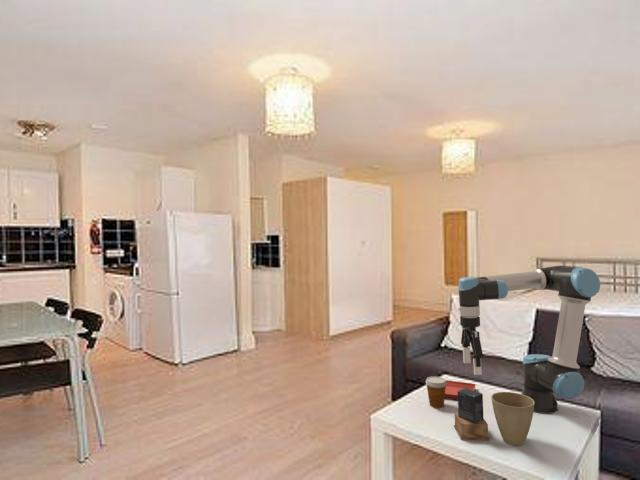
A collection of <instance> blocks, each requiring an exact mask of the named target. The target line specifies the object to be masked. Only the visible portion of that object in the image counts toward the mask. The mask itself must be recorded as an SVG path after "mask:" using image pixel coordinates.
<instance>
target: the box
mask: <svg viewBox="0 0 640 480" xmlns="http://www.w3.org/2000/svg"><path fill="white" fill-rule="evenodd" d="M483 398H484V394H483V392H480V391H476V390H475V391H474V390H471V389H468V388H465V389H462V390H459V391H458V400H457V405H458V406H457V409H458V410H457V411H458V412H457V413H458V416H459V417H461V418H463V419H465V420H468V421H470V422H473V423H477V422H480V421H482V420H483V418H484V402H483V401H484V399H483Z"/></svg>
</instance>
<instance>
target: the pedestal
mask: <svg viewBox="0 0 640 480" xmlns="http://www.w3.org/2000/svg"><path fill="white" fill-rule="evenodd" d="M453 428H454V430H455V431H456V433H457V436H458V437H459V439H460V440H461V441H490V437H489V423H488V422H487V421H486V420H485V418H484V417H483V420H482V421H480V422H477V423H473V422H470V421H468V420H465V419H463V418H461V417H459V416H458V412H454V425H453Z"/></svg>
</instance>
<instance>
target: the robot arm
mask: <svg viewBox="0 0 640 480" xmlns="http://www.w3.org/2000/svg"><path fill="white" fill-rule="evenodd" d="M530 289H531V290H533V289H536V290H538V291H543V290H548V291H554V292H558V294H557V295H558V296H557V297H558V298H559V299H560V301H561V303H560V308H559V314H558V320H557V321H558V322H557V326H556V333H555V338H554V339H555V340H554V346H553V351H552V356H550V355H548V354H540V353H536V354H532V353H531V354H527V355H524V356H523V358H522V372H523V373H522V377H523V379H522V380H523V381H522V382H523V389H522V391H521V394H522V395H525V396H528V397H530V398H531V399H533V400H534V402H535V404H534V411H533V413H539V414H552V413H553V414H554V413H556V412H557V411H558V410H559V408H558V401H557V398H556V396H558V397H561V398H564V399H566V400H567V399H568V400H570V399H572V400H573V399H574V398H577V397H578V396H579V395H580V394H581V393H582V392H583V391H584V388H585V379H584V378H583V376H582V375H581V374H580V368H581V367H580V364H578V363H577V358H578V353H579V346H580V340H581V333H582V329H583V322H584V316H585V309H586V306H587V305H588V304H590V303H591V300H592V297H595V296H596V295H597V294H598V293H599V292H600V289H601V280H600V277H599V276H598V275H597V273H596V272H595V271H594V270H592V269H591V268H587V267H584V266H583V267H582V266H571V265H570V266H568V265H553V266H548V267H540V268H534V269H533V270H532V271H524V272H523V271H522V272H516V273H506V274H505V273H503V274H495V275H487V276H486V275H485V276H478V277H475V276H464V277H460V278H458V289H457V290H458V300H459V308H458V311H459V315H460V317H459V323H460V324H459V325H460V326H461V327H462V329H461V339H460V344H461V347H462V354H463V355H462V356H463V357H462V358H463V363H464V364H471V358H472V359H473V360H472V361H473V375H474V376H477V375H482V373H483V372H482V359H483V358H484V355H483V349H482V344H481V338H480V332H479V331H477V330H476V329H477V328H479V327H480V326H481V317H480V315H481V312H480V311H481V309H480V308H481V307H480V301H490V300H500V299H505V298H506V297H507V296H508V293H509V292H512V291H513V292H515V291H524V290H530ZM471 349H472V354H473V356H472V357H471ZM555 395H556V396H555Z"/></svg>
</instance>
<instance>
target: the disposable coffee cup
mask: <svg viewBox="0 0 640 480" xmlns="http://www.w3.org/2000/svg"><path fill="white" fill-rule="evenodd" d="M425 384H426V388H427V389H426V390H427V394H428V401H429V402H428V403H429V406H430V407H431V408H433V409H441V408H444V406H445V399H446V398H445V389H446V384H447V382H446V378H444V377H441V376H428V377H427V378H426V380H425Z"/></svg>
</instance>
